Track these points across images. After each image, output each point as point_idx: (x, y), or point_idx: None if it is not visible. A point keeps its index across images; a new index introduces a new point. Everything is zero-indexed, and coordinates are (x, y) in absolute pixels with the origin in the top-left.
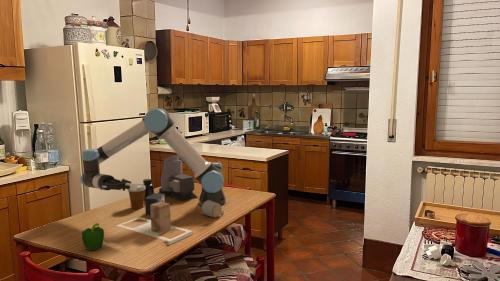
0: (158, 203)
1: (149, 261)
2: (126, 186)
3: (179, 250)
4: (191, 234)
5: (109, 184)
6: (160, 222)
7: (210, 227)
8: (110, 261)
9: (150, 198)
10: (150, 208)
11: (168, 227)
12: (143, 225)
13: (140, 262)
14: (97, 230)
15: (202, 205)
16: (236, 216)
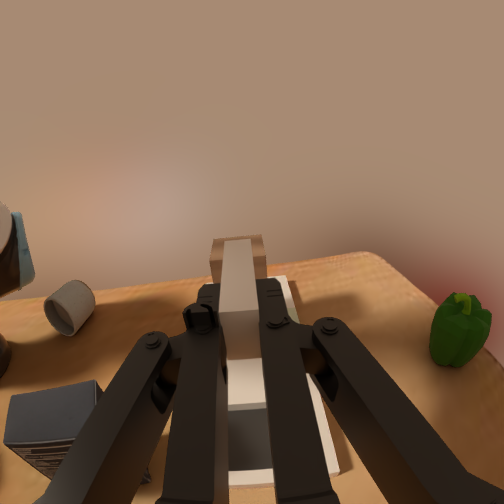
0: None
1: (354, 261)
2: (281, 290)
3: (289, 262)
4: None
5: (432, 433)
6: None
7: (153, 291)
8: (417, 288)
9: (94, 405)
10: (266, 268)
11: None
12: (253, 392)
13: (369, 265)
14: (454, 305)
15: (67, 310)
16: None
